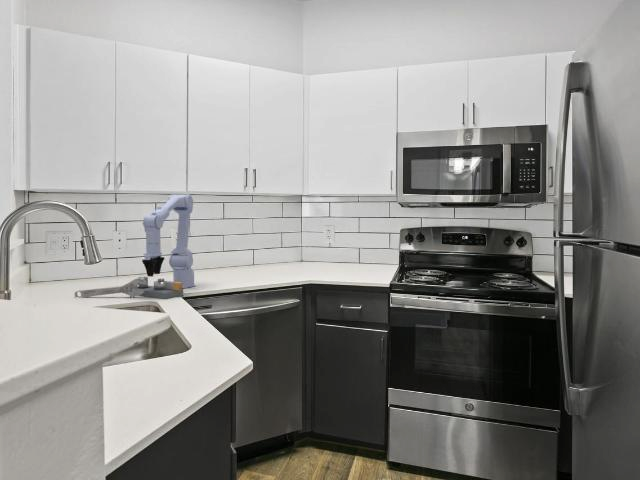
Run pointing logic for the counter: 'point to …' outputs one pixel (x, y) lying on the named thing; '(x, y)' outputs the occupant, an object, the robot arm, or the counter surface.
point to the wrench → (115, 289)
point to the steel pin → (142, 286)
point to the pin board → (160, 293)
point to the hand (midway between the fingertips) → (153, 275)
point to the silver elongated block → (167, 285)
